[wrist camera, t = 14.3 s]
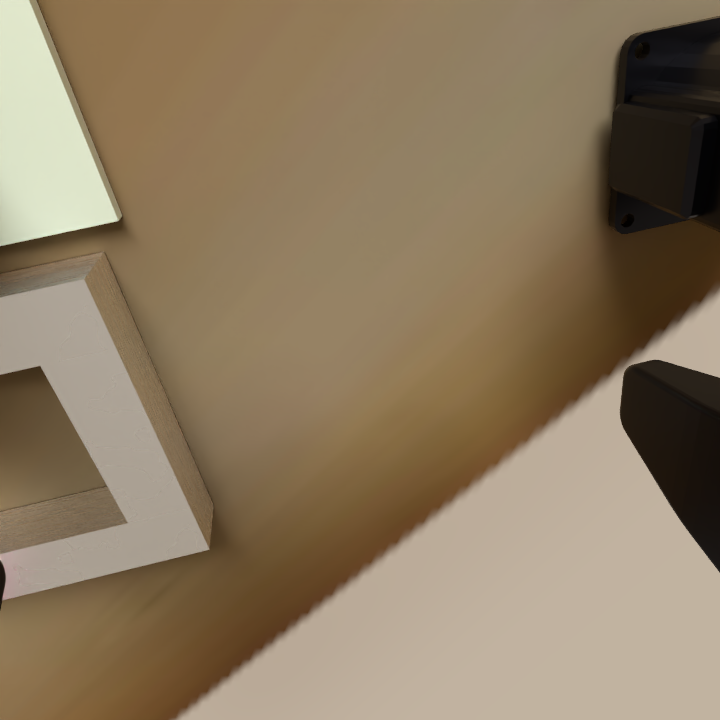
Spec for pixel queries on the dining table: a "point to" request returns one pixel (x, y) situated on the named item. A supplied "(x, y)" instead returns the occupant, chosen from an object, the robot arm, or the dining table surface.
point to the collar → (97, 434)
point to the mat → (43, 138)
